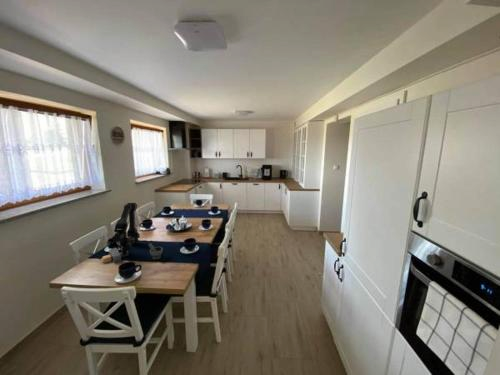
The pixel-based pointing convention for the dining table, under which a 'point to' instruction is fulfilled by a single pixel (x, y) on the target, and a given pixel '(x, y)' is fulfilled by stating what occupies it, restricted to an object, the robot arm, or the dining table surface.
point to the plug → (109, 257)
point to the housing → (115, 255)
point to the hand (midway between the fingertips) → (124, 254)
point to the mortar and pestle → (155, 251)
